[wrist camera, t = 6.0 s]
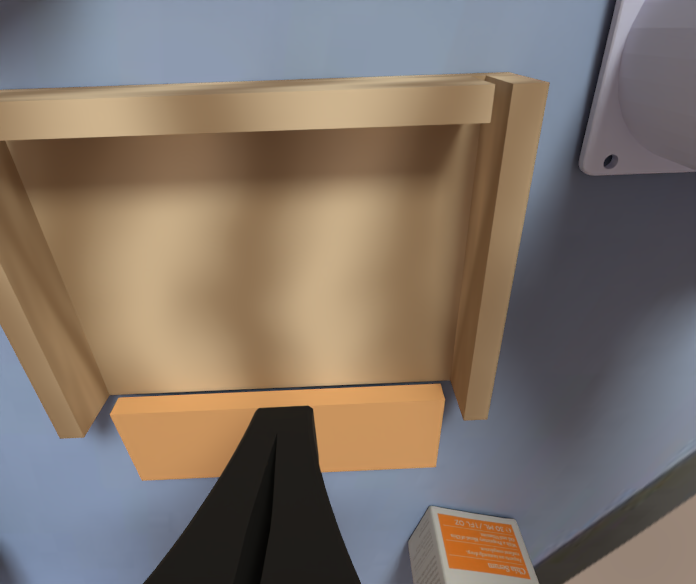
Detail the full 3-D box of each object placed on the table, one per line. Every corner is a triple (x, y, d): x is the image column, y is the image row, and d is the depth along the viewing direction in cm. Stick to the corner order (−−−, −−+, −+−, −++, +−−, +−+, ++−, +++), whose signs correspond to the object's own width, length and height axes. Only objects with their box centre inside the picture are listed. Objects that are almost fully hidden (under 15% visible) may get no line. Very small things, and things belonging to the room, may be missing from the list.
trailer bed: (508, 72, 15) (549, 82, 12) (466, 368, 22) (487, 419, 19) (-29, 90, 15) (-115, 105, 12) (95, 384, 21) (60, 438, 19)
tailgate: (445, 399, 20) (435, 466, 23) (438, 374, 21) (429, 440, 24) (109, 414, 20) (142, 480, 23) (123, 388, 21) (152, 453, 24)
